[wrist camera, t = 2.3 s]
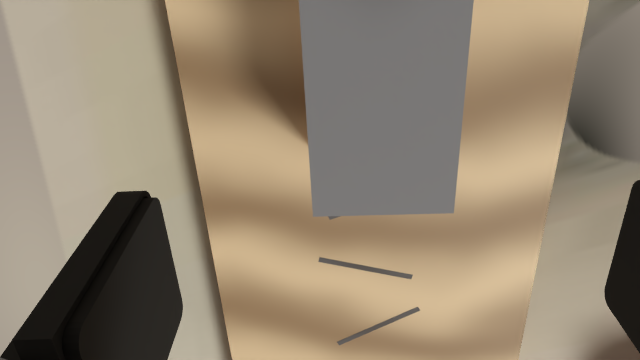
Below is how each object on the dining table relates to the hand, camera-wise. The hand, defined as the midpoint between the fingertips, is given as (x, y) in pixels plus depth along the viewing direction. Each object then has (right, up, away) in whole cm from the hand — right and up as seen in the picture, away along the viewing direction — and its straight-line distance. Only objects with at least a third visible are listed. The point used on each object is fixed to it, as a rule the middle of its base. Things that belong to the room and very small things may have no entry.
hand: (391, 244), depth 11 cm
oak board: (+1, 0, +16) cm, 15 cm away
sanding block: (+1, +6, +10) cm, 12 cm away
